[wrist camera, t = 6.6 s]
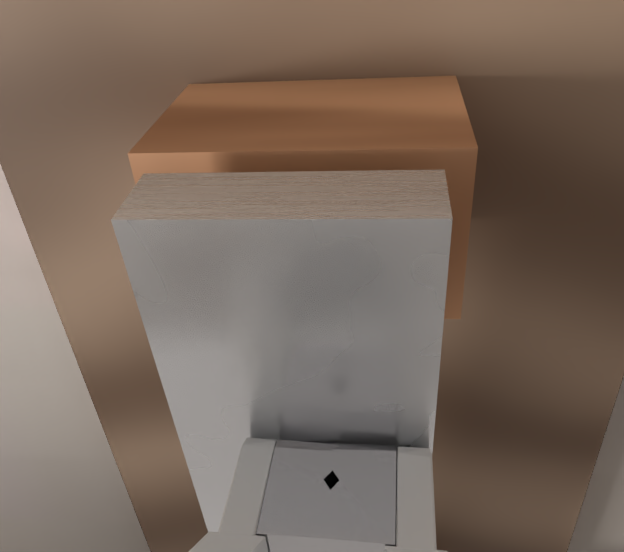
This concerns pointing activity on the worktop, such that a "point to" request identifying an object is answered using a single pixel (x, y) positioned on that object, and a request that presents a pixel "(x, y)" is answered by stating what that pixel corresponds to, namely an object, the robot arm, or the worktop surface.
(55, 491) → the worktop surface
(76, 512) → the worktop surface
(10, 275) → the worktop surface
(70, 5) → the latch base
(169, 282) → the latch lever
